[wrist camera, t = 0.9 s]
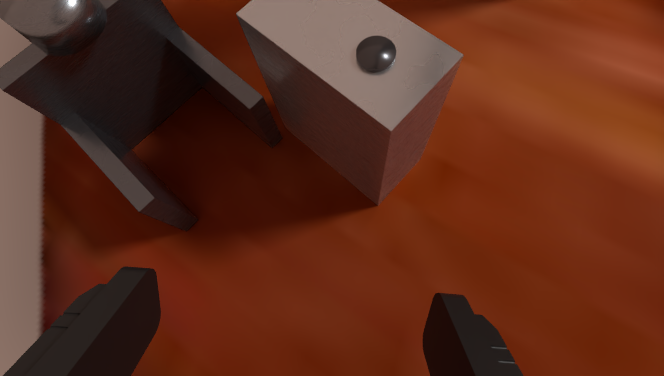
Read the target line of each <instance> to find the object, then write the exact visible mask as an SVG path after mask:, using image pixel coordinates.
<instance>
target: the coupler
mask: <svg viewBox="0 0 664 376" xmlns="http://www.w3.org/2000/svg"><path fill="white" fill-rule="evenodd" d="M0 18H1V19H2V20H4V21H5V22H6V23H7V24H9V25H10V26H11V27H13V28H14V29H15V30H16V31H18V32H19V33H20V34H22V35H23V36H24V37H25V38H27V39H28V40H29V41H30V42H32V44H31V45H30V46H28V47H27V48H26V49H24V50H23V51H22V52H20V53H19V54H18V55H16V56H15V57H14V58H13V59H11V60H10V61H9V62H7V63H6V64H5V65H3V66H2V67H1V68H0V88H1V89H2V90H3V91H4V92H6V93H8V94H10V95H11V96H13V97H15V98H16V99H18V100H20V101H21V102H23V103H25V104H26V105H28V106H30V107H31V108H33V109H35V110H37V111H38V112H40V113H42V114H43V115H45V116H47V117H48V118H50V119H52V120H54V121H55V122H57V123H59V124H60V125H61V126H62V127H63V128H64V129H65V130H66V131H67V132H68V133H69V134H70V136H71V137H72V138H73V139H74V140H75V141H76V142H77V143H78V144H79V146H80V147H81V148H82V149H83V150H84V151H85V152H86V153H87V155H88V156H89V157H90V158H91V159H92V160H93V161H94V162H95V163H96V165H97V166H98V167H99V168H100V169H101V170H102V171H103V172H104V173H105V175H106V176H107V177H108V178H109V179H110V180H111V181H112V182H113V184H114V185H115V186H116V187H117V188H118V189H119V190H120V191H121V192H122V194H123V195H124V196H125V197H126V198H127V199H128V200H129V201H130V203H131V204H132V205H133V206H134V207H135V208H136V209H137V210H138V211H139V212H140V213H143V214H145V215H148V216H150V217H152V218H155V219H157V220H160V221H162V222H165V223H167V224H170V225H172V226H175V227H177V228H180V229H182V230H185V231H188V230H189V229H190V228H191V227H192V226H193V225H194V224H195V223H196V222H197V221H198V219H197V218H196V217H195V216H194V215H193V214H192V213H191V212H190V211H189V210H188V209H187V207H186V206H185V205H184V204H183V203H182V202H181V201H180V200H179V199H178V198H177V197H176V196H175V195H174V194H173V193H172V192H171V191H170V190H169V189H168V188H167V187H166V186H165V184H164V183H163V182H162V181H161V180H160V179H159V178H158V177H157V176H156V175H155V174H154V173H153V172H152V171H151V170H150V169H149V168H148V167H147V166H146V165H145V164H144V163H143V162H142V160H141V159H140V158H139V157H138V156H137V155H136V154H135V153H134V152H133V151H132V150H131V149H133V148H134V147H135V146H136V145H137V144H138V143H139V142H141V141H142V140H143V139H144V138H145V137H146V136H147V135H148V134H150V133H151V132H152V131H153V130H154V129H155V128H156V127H157V126H159V125H160V124H161V123H162V122H163V121H164V120H165V119H167V118H168V117H169V116H170V115H171V114H172V113H173V112H174V111H176V110H177V109H178V108H179V107H180V106H181V105H182V104H183V103H185V102H186V101H187V100H188V99H189V98H190V97H191V96H193V95H194V94H195V93H196V92H197V91H198V90H199V89H200V88H202V87H203V88H204V89H205V90H206V91H208V92H209V93H210V94H211V95H212V96H213V97H214V98H216V99H217V100H218V101H219V102H220V103H221V104H222V105H224V106H225V107H226V108H227V109H228V110H229V111H230V112H232V113H233V114H234V115H235V116H236V117H237V118H238V119H240V120H241V121H242V122H243V123H244V124H245V125H246V126H248V127H249V128H250V129H251V130H252V131H253V132H254V133H256V134H257V135H258V136H259V137H260V138H261V139H262V140H264V141H265V142H266V143H267V144H268V145H269V146H270V147H272V148H273V147H274V146H275V145H276V144H277V143H278V142H279V141H280V140H281V139H282V136H281V133H280V131H279V129H278V127H277V125H276V123H275V121H274V119H273V117H272V115H271V112H270V110H269V108H268V106H267V104H266V102H265V100H264V98H263V96H261V95H260V94H259V93H258V92H257V91H255V90H254V89H253V88H252V87H251V86H249V85H248V84H247V83H246V82H245V81H243V80H242V79H241V78H240V77H239V76H237V75H236V74H235V73H234V72H232V71H231V70H230V69H229V68H228V67H226V66H225V65H224V64H223V63H222V62H220V61H219V60H218V59H217V58H216V57H214V56H213V55H212V54H211V53H209V52H208V51H207V50H206V49H205V48H203V47H202V46H201V45H200V44H199V43H197V42H196V41H195V40H194V39H193V38H191V37H190V36H189V35H188V34H187V33H185V32H184V31H183V30H182V29H180V28H179V27H178V25H177V24H176V22H175V21H174V19H173V18H172V16H171V15H170V13H169V12H168V10H167V9H166V7H165V6H164V4H163V3H162V1H161V0H0Z"/></svg>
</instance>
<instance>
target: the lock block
mask: <svg viewBox="0 0 664 376" xmlns="http://www.w3.org/2000/svg"><path fill="white" fill-rule="evenodd" d="M236 15H237V18H238V20H239V22H240V25H241V27H242V29H243V31H244V34H245V36H246V38H247V41H248V43H249V45H250V48H251V50H252V52H253V54H254V57H255V59H256V61H257V64H258V66H259V68H260V71H261V73H262V75H263V78H264V80H265V82H266V84H267V87H268V89H269V91H270V94H271V96H272V98H273V101H274V103H275V105H276V108H277V110H278V112H279V114H280V117H281V119H282V121H283V124H284V126H285V128H286V129H287V130H288V131H290V132H291V133H292V134H293V135H294V136H296V137H297V138H298V139H299V140H300V141H301V142H303V143H304V144H305V145H306V146H307V147H309V148H310V149H311V150H312V151H313V152H315V153H316V154H317V155H318V156H319V157H320V158H322V159H323V160H324V161H325V162H326V163H328V164H329V165H330V166H331V167H332V168H334V169H335V170H336V171H337V172H338V173H340V174H341V175H342V176H343V177H344V178H345V179H347V180H348V181H349V182H350V183H351V184H353V185H354V186H355V187H356V188H357V189H359V190H360V191H361V192H362V193H363V194H364V195H366V196H367V197H368V198H369V199H370V200H372V201H373V202H374V203H375V204H376V205H379V204H380V203H381V202H382V201H383V200H384V199H385V197H386V196H387V195H388V194H389V193H390V192H391V191H392V190H393V189H394V188H395V186H396V185H397V184H398V183H399V182H400V181H401V180H402V179H403V178H404V177H405V175H406V174H407V173H408V172H409V171H410V170H411V169H412V168H413V167H414V166H415V164H416V163H417V162H418V161H419V160H420V159H421V156H422V154H423V151H424V149H425V147H426V144H427V142H428V139H429V137H430V135H431V132H432V130H433V127H434V125H435V123H436V120H437V118H438V115H439V113H440V111H441V108H442V106H443V103H444V101H445V99H446V96H447V94H448V91H449V89H450V87H451V84H452V82H453V80H454V77H455V75H456V72H457V70H458V68H459V65H460V63H461V60H462V58H463V56H464V55H463V54H462V53H460V52H458V51H457V50H455V49H454V48H452V47H451V46H449V45H447V44H446V43H444V42H443V41H441V40H440V39H438V38H436V37H435V36H433V35H432V34H430V33H428V32H427V31H425V30H424V29H422V28H421V27H419V26H417V25H416V24H414V23H413V22H411V21H410V20H408V19H406V18H405V17H403V16H402V15H400V14H398V13H397V12H395V11H394V10H392V9H391V8H389V7H387V6H386V5H384V4H383V3H381V2H380V1H378V0H251V1H250V2H249V3H248V4H247V5H246V6H244V7H243V8H242V9H241V10H240V11H239V12H237V13H236Z"/></svg>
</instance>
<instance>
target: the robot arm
mask: <svg viewBox="0 0 664 376" xmlns="http://www.w3.org/2000/svg"><path fill="white" fill-rule="evenodd" d="M160 315H161V309H160V301H159V292H158V284H157V276H156V272H155V270H154V269H150V268H137V267H123V268H121V269H120V270H119V271H118V272H117V273H116V274H115V276H114V277H113V278H112V279H111V280H110V281H109V282H108V283H107V284H98V285H97V286H95V287H93V288H92V289H90V290H88V291H87V292H85V293H84V294H82V295H80V296H79V297H78V298H77V299H76V300H75V301H74V302H73V303H72V304H71V305H70V306H69V307H68V308H67V309H66V310H65V311H64V314H63V316H60V317H59V318H58V319H57V320H56V321H55V322H54V323H53V324H52V325H51V328H50V329H47V330H46V331H45V332H44V333H43V334H42V335H41V336H40V337H39V339H38V340H37V341H36V342H35V343H34V344H33V345H32V346H31V347H30V348H29V349H28V350H27V351H26V352H25V353H24V354H23V355H22V356H21V357H20V358H19V359H18V360H17V362H16V363H15V364H14V365H13V366H12V367H11V368H10V369H9V370H8V371H7V372H6V373H5V374H4V375H3V376H131V374H132V373H133V371H134V369H135V368H136V366H137V364H138V362H139V361H140V359H141V357H142V356H143V354H144V352H145V350H146V349H147V347H148V345H149V344H150V342H151V340H152V338H153V337H154V335H155V333H156V331H157V328H158V325H159V321H160ZM423 351H424V355H425V359H426V362H427V365H428V369H429V372H430V376H523V374H522V373H521V371H520V369H519V367H518V366H517V364H515V360H514V359H513V357H512V355H511V353H510V351H509V350H507V346H506V344H505V343H504V341H503V339H502V337H501V336H500V334H499V332H498V330H497V329H496V328H495V327H494V326H493V325H492V324H491V323H490V322H489V321H488V320H487V319H486V318H485V317H484V316H482V315H476V314H474V313H473V311H472V309H471V307H470V305H469V303H468V301H467V299H466V298H465V297H464V296H463V295H457V294H445V293H436V294H435V295H434V297H433V301H432V304H431V308H430V311H429V314H428V318H427V321H426V325H425V328H424V332H423Z"/></svg>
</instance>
